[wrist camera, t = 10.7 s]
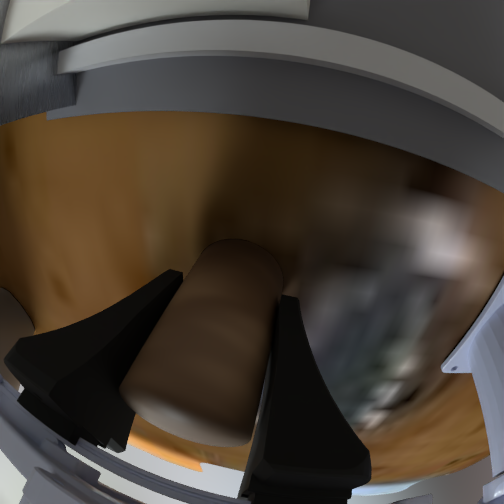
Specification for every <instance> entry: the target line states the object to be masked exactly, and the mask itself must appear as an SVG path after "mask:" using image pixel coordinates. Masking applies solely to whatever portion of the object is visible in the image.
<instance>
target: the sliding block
mask: <svg viewBox="0 0 504 504" xmlns="http://www.w3.org/2000/svg"><path fill="white" fill-rule="evenodd" d="M309 7H310V0H10V3H9V7H8V10H7V14H6V19H5V23H4V28H3V33H2V39H1V44H6V43H15V42H28V41H80V40H82V39H85V38H88V37H92V36H95V35H98V34H101V33H105V32H109V31H112V30H116V29H120V28H124V27H129V26H133V25H138V24H143V23H148V22H154V21H160V20H167V19H174V18H183V17H194V16H208V15H261V16H275V17H286V18H295V19H302V20H308V15H309Z"/></svg>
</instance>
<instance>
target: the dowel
mask: <svg viewBox="0 0 504 504" xmlns="http://www.w3.org/2000/svg"><path fill="white" fill-rule="evenodd" d="M282 288H283V275H282V271H281V268H280V266H279V264H278V263H277V261H276V260H275V259H274V258H273V256H272V255H271V254H270V253H268V252H267V251H266V250H265V249H263V248H262V247H260V246H258V245H256V244H254V243H251V242H249V241H245V240H239V239H226V240H221V241H218V242H215V243H213V244H211V245H209V246H208V247H207V248H206V249H205V250H204V251H203V252H202V253H201V255H200V256H199V258H198V259H197V261H196V263H195V264H194V266H193V267H192V269H191V270H190V272H189V273H188V275H187V276H186V278H185V279H184V281H183V283H182V284H181V286H180V287H179V289H178V290H177V292H176V293H175V295H174V297H173V298H172V300H171V301H170V303H169V305H168V306H167V308H166V309H165V311H164V313H163V314H162V316H161V317H160V319H159V321H158V322H157V324H156V325H155V327H154V329H153V330H152V332H151V334H150V335H149V337H148V339H147V340H146V342H145V344H144V345H143V347H142V349H141V350H140V352H139V354H138V355H137V357H136V359H135V360H134V362H133V364H132V366H131V367H130V369H129V371H128V373H127V374H126V376H125V378H124V379H123V381H122V383H121V385H120V387H119V393H120V395H121V397H122V399H123V400H124V401H125V403H126V404H127V405H128V406H129V407H130V408H131V409H132V410H133V411H134V412H136V413H137V414H138V415H140V416H141V417H142V418H144V419H145V420H147V421H148V422H150V423H151V424H153V425H155V426H157V427H158V428H160V429H162V430H164V431H166V432H169V433H171V434H173V435H176V436H178V437H181V438H184V439H187V440H190V441H193V442H197V443H201V444H205V445H211V446H219V447H236V446H242V445H245V444H247V443H248V442H250V440H251V437H252V433H253V429H254V425H255V420H256V416H257V412H258V407H259V403H260V398H261V394H262V389H263V385H264V380H265V375H266V371H267V366H268V361H269V356H270V351H271V346H272V341H273V336H274V330H275V323H276V318H277V313H278V308H279V303H280V299H281V294H282Z"/></svg>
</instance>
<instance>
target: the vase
mask: <svg viewBox="0 0 504 504" xmlns="http://www.w3.org/2000/svg"><path fill="white" fill-rule="evenodd" d="M34 331H35V329H34V327H33V324H32V322H31V319H30V318H29V316H28V315H27V314H26V312H25V311H24V309H23V308H22V306H21V305H20V303H19V302H18V301H17V300H16V299H15V298H14V297H13V296H12V295H11V293H10V292H9V291H7V290H5V289H3V288H1V289H0V374H1V375H2V376H3V378H4V379H5V380H6V381H7V382H8V383H9V384H10V385H12V386H13V387H14V388H15V389H16V390H17V391H18V390H19V386H20V382H19V381H18V380H17V379H16V378H15V377H14V375H13V374H12V373H11V372H10V371H9V369H8V368H7V367H6V365H5V363H4V357H5V356H6V355H7V354H8V352H9V351H10V350H11V348H12V347H13V346H14V345H15V343H16V342H17V341H18V340H19V338H23V337H28V336H33V334H34Z"/></svg>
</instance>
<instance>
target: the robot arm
mask: <svg viewBox="0 0 504 504" xmlns="http://www.w3.org/2000/svg"><path fill="white" fill-rule="evenodd" d="M182 283H183V272H179V271H175V270H171V269H169V270H167V271H166V272H164V273H162V274H161V275H159V276H158V277H156V278H155V279H153V280H152V281H151V282H149V283H148V284H146V285H145V286H143V287H141V288H140V289H138V290H137V291H135V292H134V293H132V294H131V295H129V296H127V297H126V298H124V299H122V300H121V301H119V302H117V303H116V304H114V305H112V306H111V307H109V308H107V309H105V310H103V311H101V312H99V313H97V314H95V315H93V316H91V317H89V318H86V319H84V320H81V321H79V322H76V323H74V324H71V325H69V326H66V327H63V328H60V329H57V330H53V331H50V332H46V333H42V334H38V335H33V336H28V337H23V338H19V340H18V341H17V342H16V343H15V345H14V346H13V347H12V348H11V350H10V351H9V352H8V354H7V355H6V356H5V357H4V363H5V365H6V367H7V368H8V369H9V371H10V372H11V373H12V374H13V375H14V377H15V378H16V379H17V380H18V381H19V382H20V384H21V385H22V386H23V387H24V388H25V389H24V390H23V392H22V393H19V392H18V391H17V390H16V389H15V388H14V387H13V386H12V385H10V384H9V383H8V382H7V381H6V380H5V379H4V378H3V376H2V375H1V374H0V449H1V451H2V452H3V453H4V454H5V455H6V457H7V458H8V459H9V460H10V461H11V463H12V464H13V465H14V466H15V467H16V468H17V469H18V471H19V472H20V473H21V474H22V475H23V476H24V477H25V478H26V479H27V482H26V484H25V486H24V488H23V493H24V494H23V496H22V499H21V501H20V503H19V504H145V503H143V502H140V501H138V500H136V499H133V498H131V497H129V496H127V495H125V494H122V493H120V492H118V491H116V490H114V489H112V488H110V487H108V486H106V485H104V484H102V483H101V482H99V481H98V479H99V477H100V475H101V474H100V472H99V471H97V470H95V469H94V468H92V467H90V466H88V465H87V464H85V463H84V462H82V461H80V460H79V459H77V458H76V457H74V456H72V455H71V454H69V453H68V452H67V451H66V447H65V445H67V446H68V447H70V448H72V449H73V450H75V451H76V452H78V453H79V454H81V455H82V456H84V457H86V458H87V459H89V460H91V461H93V462H94V463H96V464H98V465H99V466H101V467H103V468H105V469H107V470H109V471H111V472H113V473H114V474H116V475H118V476H120V477H123V478H125V479H127V480H129V481H131V482H133V483H136V484H138V485H140V486H143V487H145V488H147V489H150V490H152V491H154V492H157V493H160V494H162V495H165V496H168V497H171V498H173V499H177V500H179V501H182V502H186V503H189V504H347V499H350V498H351V495H352V489H354V488H357V487H359V486H362V485H364V484H366V483H368V482H369V481H370V480H371V470H372V469H371V459H370V453H369V450H368V449H367V448H366V447H365V445H364V444H363V443H362V442H361V440H360V439H359V438H358V436H357V435H356V434H355V432H354V431H353V430H352V428H351V427H350V425H349V424H348V422H347V421H346V419H345V418H344V416H343V415H342V413H341V411H340V410H339V408H338V406H337V405H336V403H335V401H334V400H333V398H332V396H331V394H330V392H329V390H328V388H327V386H326V384H325V382H324V380H323V378H322V376H321V374H320V371H319V369H318V367H317V364H316V362H315V359H314V356H313V354H312V351H311V348H310V345H309V342H308V339H307V335H306V332H305V328H304V325H303V320H302V316H301V311H300V304H299V300H298V298H296V297H291V296H287V295H281V299H280V303H279V308H278V313H277V318H276V323H275V330H274V336H273V341H272V346H271V351H270V356H269V361H268V366H267V371H266V376H265V384H264V392H263V400H262V406H261V410H260V415H259V419H258V423H257V427H256V431H255V435H254V439H253V443H252V447H251V451H250V454H249V458H248V462H247V466H246V469H245V473H244V476H243V480H242V483H241V486H240V490H239V493H238V497H237V499H235V498H230V497H227V496H222V495H218V494H214V493H210V492H206V491H203V490H199V489H196V488H192V487H189V486H186V485H183V484H180V483H177V482H174V481H171V480H168V479H165V478H163V477H160V476H158V475H155V474H153V473H150V472H147V471H145V470H143V469H140V468H138V467H136V466H134V465H131V464H129V463H127V462H125V461H123V460H121V459H119V458H117V457H115V456H113V455H111V454H109V453H107V452H105V451H103V450H102V449H100V448H98V447H97V445H99V446H101V447H103V448H106V447H107V448H108V449H110V450H112V451H115V452H116V453H120V452H123V451H125V449H126V445H127V441H128V437H129V433H130V430H131V426H132V423H133V420H134V417H135V414H136V412H134V411H133V410H132V409H131V408H130V407H129V406H128V405H127V404H126V403H125V401H124V400H123V399H122V397H121V395H120V393H119V387H120V385H121V383H122V381H123V379H124V378H125V376H126V374H127V373H128V371H129V369H130V367H131V366H132V364H133V362H134V360H135V359H136V357H137V355H138V354H139V352H140V350H141V349H142V347H143V345H144V344H145V342H146V340H147V339H148V337H149V335H150V334H151V332H152V330H153V329H154V327H155V325H156V324H157V322H158V321H159V319H160V317H161V316H162V314H163V313H164V311H165V309H166V308H167V306H168V305H169V303H170V301H171V300H172V298H173V297H174V295H175V293H176V292H177V290H178V289H179V287H180V286H181V284H182ZM441 369H442V372H444V373H472V375H473V378H474V382H475V385H476V389H477V392H478V396H479V400H480V404H481V408H482V412H483V416H484V421H485V426H486V431H487V436H488V442H489V449H490V456H491V464H492V474H493V477H497V476H499V475H501V474H503V473H504V276H503V278H502V280H501V281H500V283H499V285H498V287H497V288H496V290H495V292H494V293H493V295H492V297H491V298H490V300H489V302H488V303H487V305H486V306H485V308H484V309H483V311H482V312H481V314H480V315H479V317H478V318H477V320H476V321H475V323H474V324H473V325H472V327H471V328H470V330H469V331H468V332H467V334H466V335H465V336H464V338H463V339H462V340H461V342H460V343H459V344H458V345H457V347H456V348H455V349H454V350H453V352H452V353H451V354H450V355H449V357H448V358H447V359H446V360H445V361H444V362H443V364H442V365H441ZM391 504H433V495H432V494H428V495H424V496H419V497H414V498H409V499H404V500H400V501H396V502H393V503H391ZM477 504H504V474H503V475H501V476H500V477H498V478H496V479H495V480H493V481H491V482H489V483H487V484H485V485H484V486H483V497H482V498H481V499H480V500H479V502H478V503H477Z"/></svg>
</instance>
